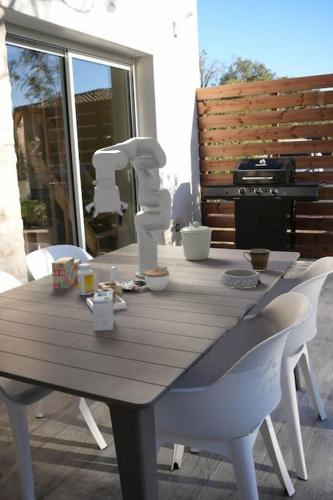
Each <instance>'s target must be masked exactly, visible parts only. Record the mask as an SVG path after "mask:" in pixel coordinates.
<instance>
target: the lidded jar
mask: <svg viewBox="0 0 333 500" xmlns="http://www.w3.org/2000/svg"><path fill="white" fill-rule="evenodd" d="M144 275H145V278H144V281H145V284H146V286H147V288H149V289H150V291H153V292H160V291H163V290H165V288H166V287H167V286H168V283H169V278H170V277H169V275H170V272H169V270H168V269H167V270H162V269H158V268H155V269H154V270H148V271H145V273H144Z"/></svg>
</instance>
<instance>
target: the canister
mask: <svg viewBox="0 0 333 500" xmlns="http://www.w3.org/2000/svg"><path fill="white" fill-rule="evenodd" d="M212 231H213V228H211V227H210V226H204V225H200V222H198V221H193V223H192V226H191V225H190V226H185V227H182V229H179V232H180V233H181V234H180V236H181V240H182V241H181V242H182V249H183V255H184V257H185V259H186V260H189V261H203V260H207V259H208V257H209V256H210V251H211V239H212V237H211V236H212Z"/></svg>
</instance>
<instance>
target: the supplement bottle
mask: <svg viewBox="0 0 333 500" xmlns="http://www.w3.org/2000/svg"><path fill="white" fill-rule="evenodd" d="M79 268H80V270H79V271H78V272H77V277H78V281H77V287H78V289H77V290H78V294H79V295H81V296H90V295H94V293H95V287H94V284H95V283H94V273H93V272H94V271H93V270H92V269H91V264H90V263H81V264H80V265H79Z"/></svg>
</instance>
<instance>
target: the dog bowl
mask: <svg viewBox="0 0 333 500" xmlns="http://www.w3.org/2000/svg"><path fill="white" fill-rule="evenodd" d="M221 274H222V275H221V278H220V283H221V284H222V285H224V286H227V287H234V288H244V287H253V286H256V285H257V286H258V284H259V283H260V282H261V283H262V281H261V277H260V272H257V271H254V270H253V269H249V268H248V269H247V268H232V269H227V270H224V271H223V272H222V273H221ZM259 281H260V282H259ZM221 284H220V285H221ZM222 285H221V286H222ZM224 286H223V287H224ZM227 287H226V288H227ZM234 288H233V289H234Z"/></svg>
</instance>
